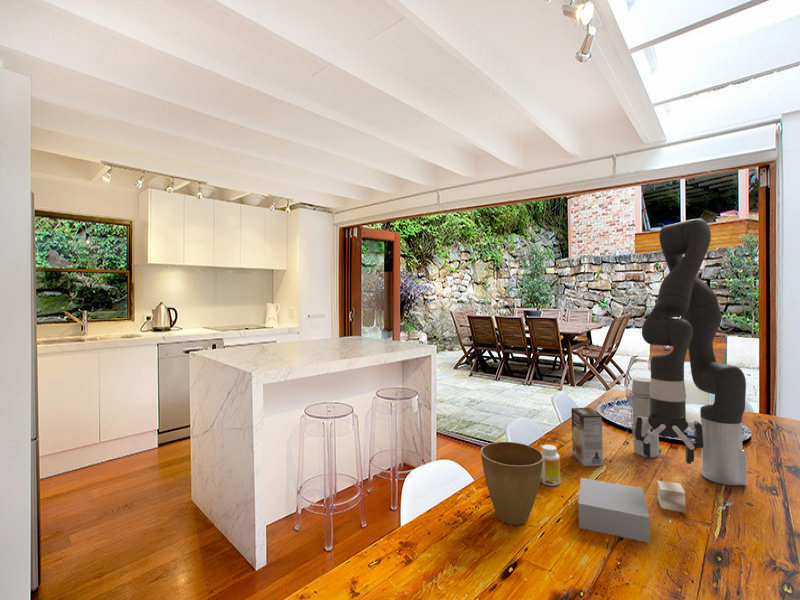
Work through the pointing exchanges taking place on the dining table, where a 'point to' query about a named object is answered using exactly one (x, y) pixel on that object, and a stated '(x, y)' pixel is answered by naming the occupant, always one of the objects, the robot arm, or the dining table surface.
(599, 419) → the coffee box
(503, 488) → the plant pot
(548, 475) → the supplement bottle
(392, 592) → the dining table surface
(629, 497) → the slate block
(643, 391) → the water bottle
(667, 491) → the cream cube
